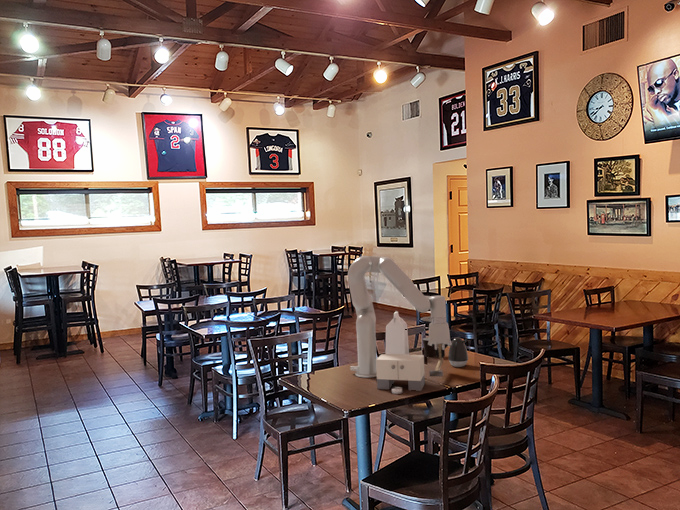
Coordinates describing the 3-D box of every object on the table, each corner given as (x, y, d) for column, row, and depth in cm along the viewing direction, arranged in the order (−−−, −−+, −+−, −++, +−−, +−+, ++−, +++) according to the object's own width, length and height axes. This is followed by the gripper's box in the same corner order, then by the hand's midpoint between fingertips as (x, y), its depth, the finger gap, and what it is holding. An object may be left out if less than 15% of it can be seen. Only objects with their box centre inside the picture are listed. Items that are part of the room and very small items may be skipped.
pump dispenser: (465, 369, 273) (464, 339, 273) (445, 367, 279) (444, 338, 278) (471, 364, 282) (470, 336, 281) (452, 363, 287) (451, 335, 287)
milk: (389, 354, 315) (388, 310, 314) (409, 355, 311) (407, 310, 310) (385, 359, 303) (383, 313, 302) (405, 359, 300) (403, 313, 299)
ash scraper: (429, 376, 247) (428, 355, 246) (435, 360, 270) (434, 341, 269) (442, 376, 246) (441, 355, 245) (447, 361, 268) (446, 341, 267)
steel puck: (392, 394, 234) (392, 390, 233) (390, 391, 238) (390, 387, 238) (403, 394, 234) (403, 389, 234) (401, 390, 239) (401, 386, 239)
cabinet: (376, 389, 242) (375, 360, 242) (382, 381, 255) (381, 353, 254) (420, 391, 236) (419, 361, 236) (424, 383, 249) (423, 355, 248)
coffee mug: (428, 354, 312) (427, 337, 312) (441, 355, 306) (440, 338, 306) (417, 357, 303) (417, 340, 303) (431, 359, 297) (430, 341, 297)
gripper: (421, 321, 263) (423, 358, 264) (454, 321, 259) (455, 359, 259) (424, 319, 270) (425, 355, 271) (455, 319, 266) (457, 355, 266)
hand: (440, 357), depth 265 cm, fingers closed on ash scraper, 1 cm apart
